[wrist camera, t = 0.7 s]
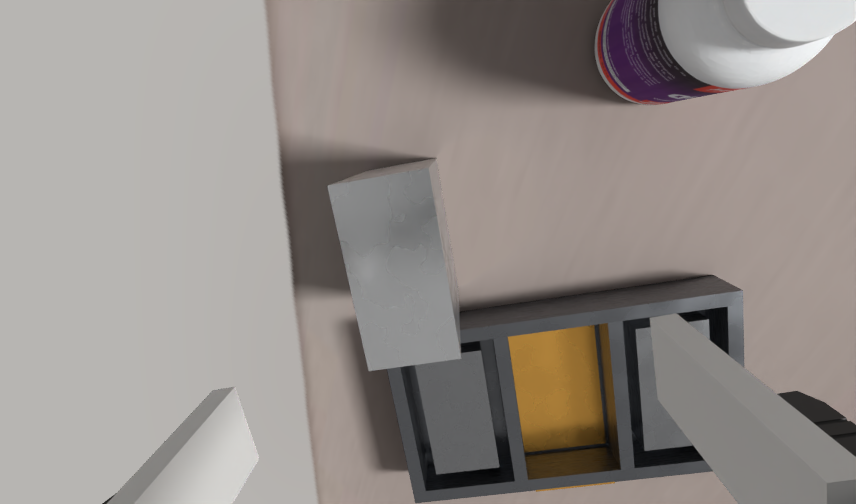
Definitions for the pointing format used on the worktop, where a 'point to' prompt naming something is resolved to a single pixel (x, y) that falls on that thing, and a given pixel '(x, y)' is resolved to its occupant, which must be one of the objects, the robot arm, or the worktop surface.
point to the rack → (556, 393)
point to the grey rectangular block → (399, 264)
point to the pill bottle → (710, 44)
